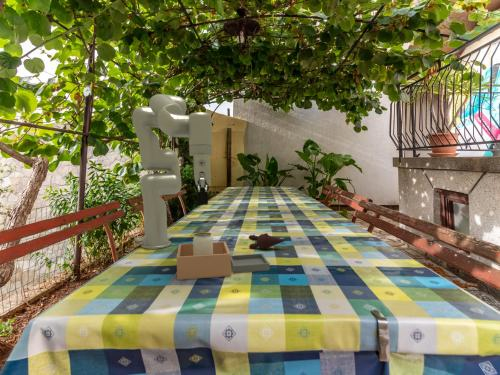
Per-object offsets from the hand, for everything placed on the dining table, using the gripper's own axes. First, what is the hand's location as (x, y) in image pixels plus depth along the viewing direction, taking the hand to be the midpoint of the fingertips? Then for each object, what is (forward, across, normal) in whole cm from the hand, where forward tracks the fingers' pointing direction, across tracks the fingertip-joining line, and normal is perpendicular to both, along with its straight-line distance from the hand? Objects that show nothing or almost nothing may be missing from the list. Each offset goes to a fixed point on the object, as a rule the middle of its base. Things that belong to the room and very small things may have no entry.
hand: (202, 202), depth 106 cm
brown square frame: (+22, 0, 0) cm, 23 cm away
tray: (+23, 0, -15) cm, 27 cm away
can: (+23, 0, 0) cm, 23 cm away
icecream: (+23, +20, -26) cm, 40 cm away
